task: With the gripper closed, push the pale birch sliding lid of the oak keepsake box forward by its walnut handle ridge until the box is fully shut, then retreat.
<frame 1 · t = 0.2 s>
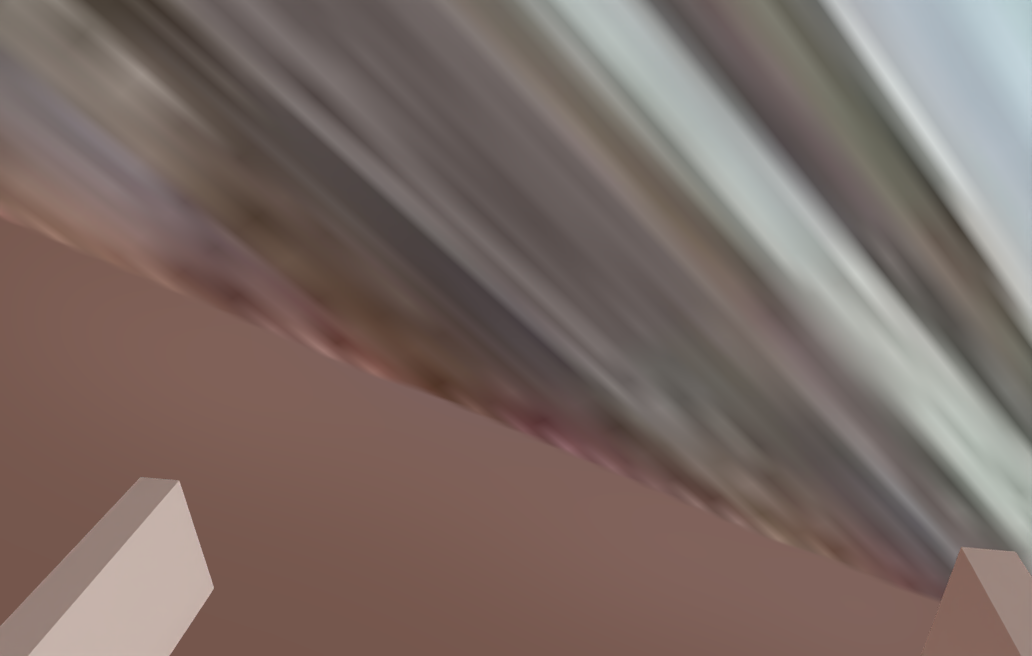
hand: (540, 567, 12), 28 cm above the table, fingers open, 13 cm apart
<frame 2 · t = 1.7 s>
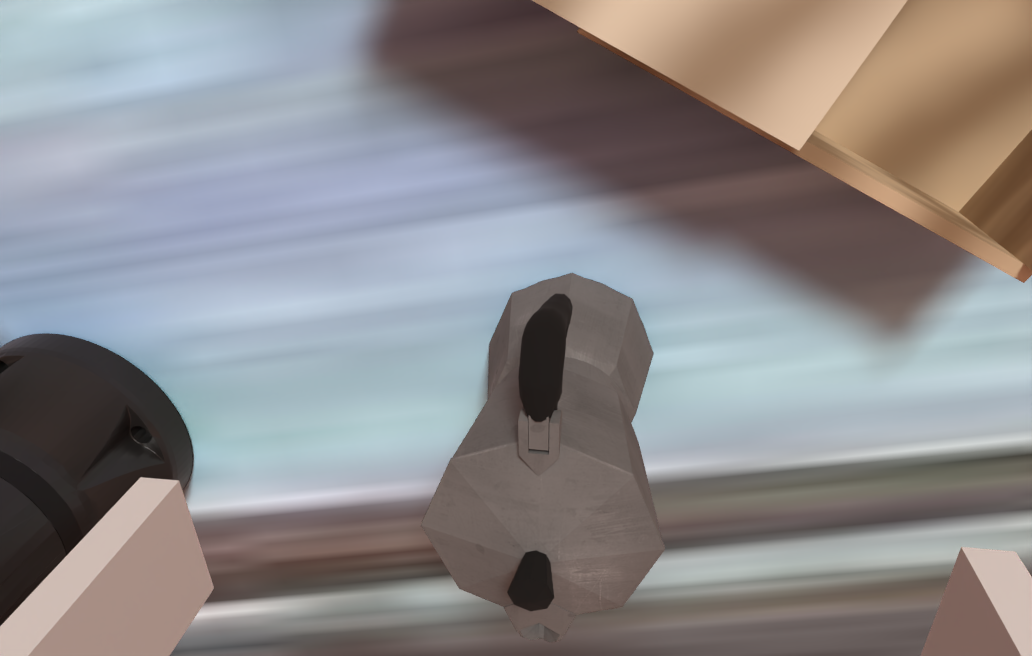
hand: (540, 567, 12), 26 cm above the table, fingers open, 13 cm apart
coffeepot: (571, 327, 39), on the table
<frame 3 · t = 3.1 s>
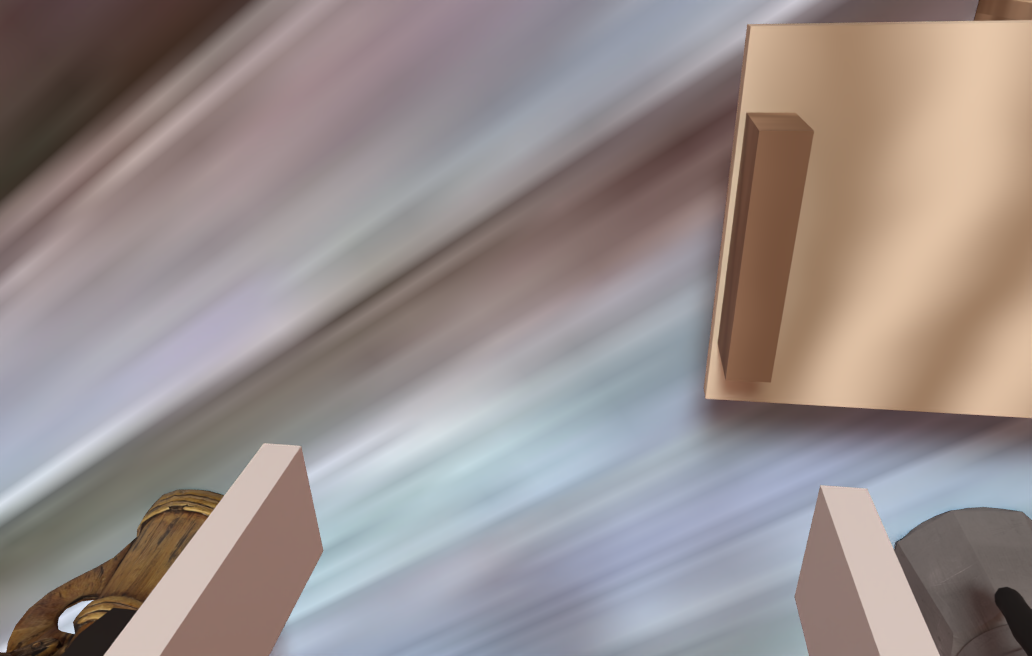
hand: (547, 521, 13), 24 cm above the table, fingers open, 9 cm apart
wooden mug: (183, 523, 50), on the table
coffeepot: (963, 547, 41), on the table
lid: (1018, 255, 24), point 9 cm above the table, slide at 10.0 cm
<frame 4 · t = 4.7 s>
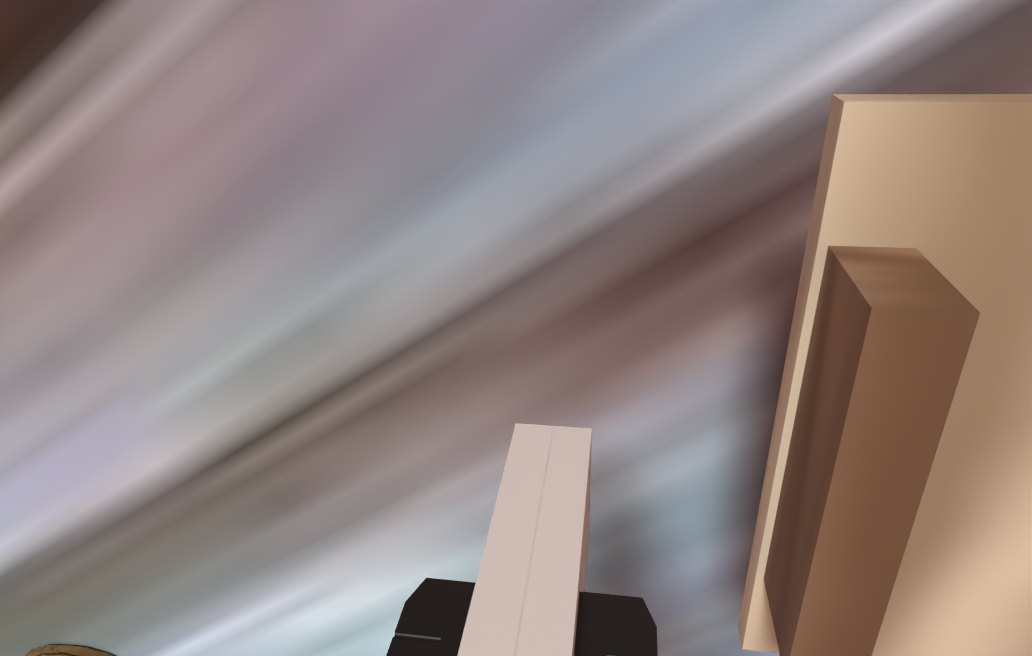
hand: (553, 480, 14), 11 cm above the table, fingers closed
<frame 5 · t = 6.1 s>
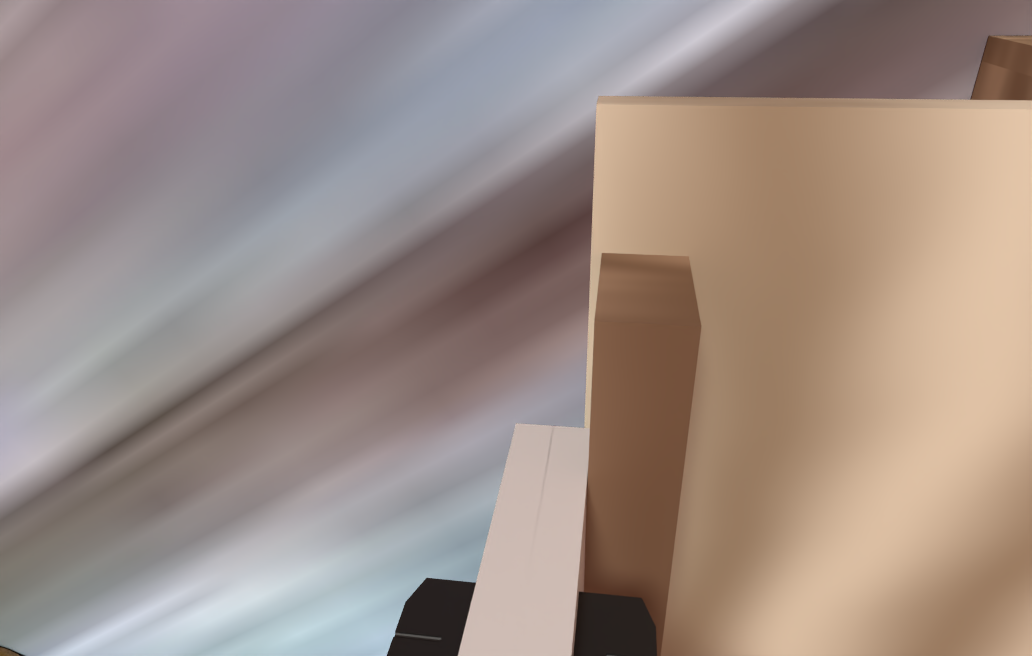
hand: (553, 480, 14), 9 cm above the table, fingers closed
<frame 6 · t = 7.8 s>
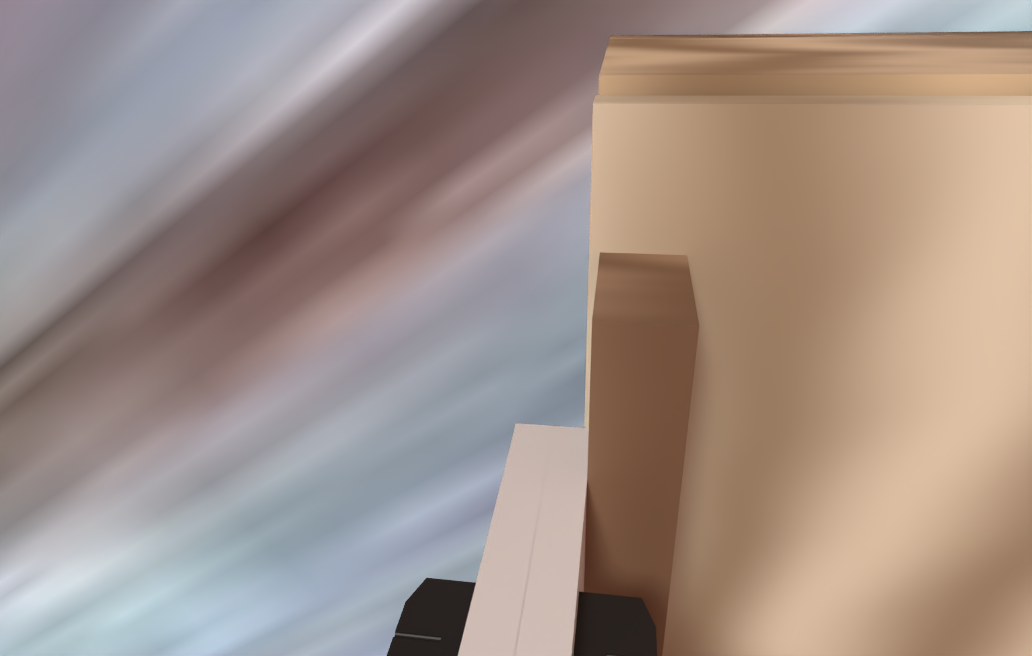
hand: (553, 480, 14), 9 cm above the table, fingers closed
box: (937, 302, 21), on the table
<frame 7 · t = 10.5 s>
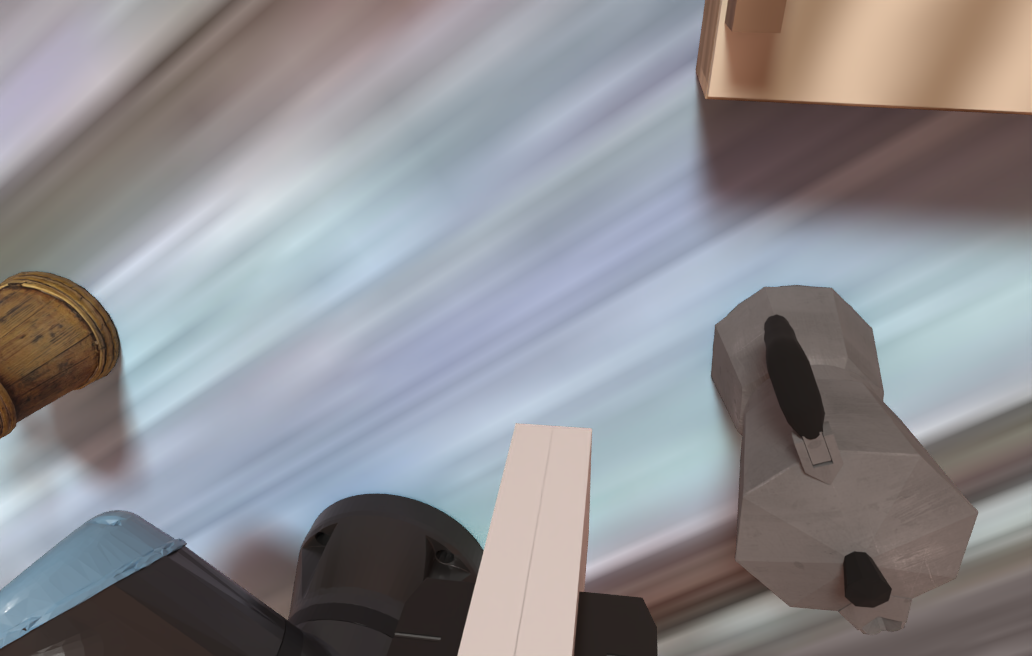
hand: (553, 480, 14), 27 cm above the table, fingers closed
wooden mug: (32, 313, 50), on the table
coffeepot: (781, 333, 41), on the table
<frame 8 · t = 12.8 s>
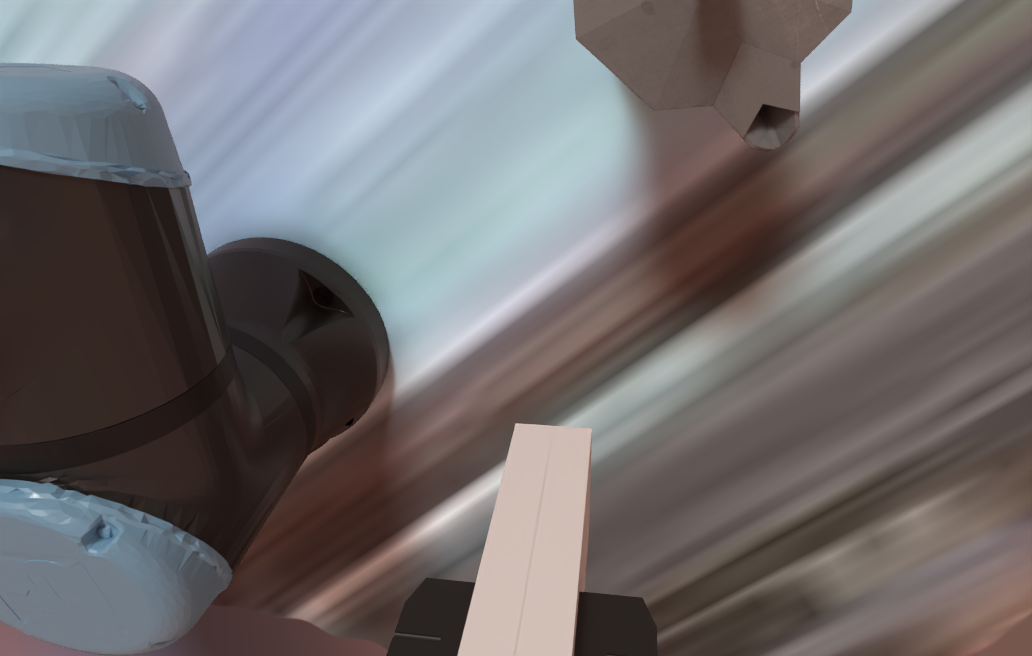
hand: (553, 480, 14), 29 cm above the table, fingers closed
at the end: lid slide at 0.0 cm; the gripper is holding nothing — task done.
